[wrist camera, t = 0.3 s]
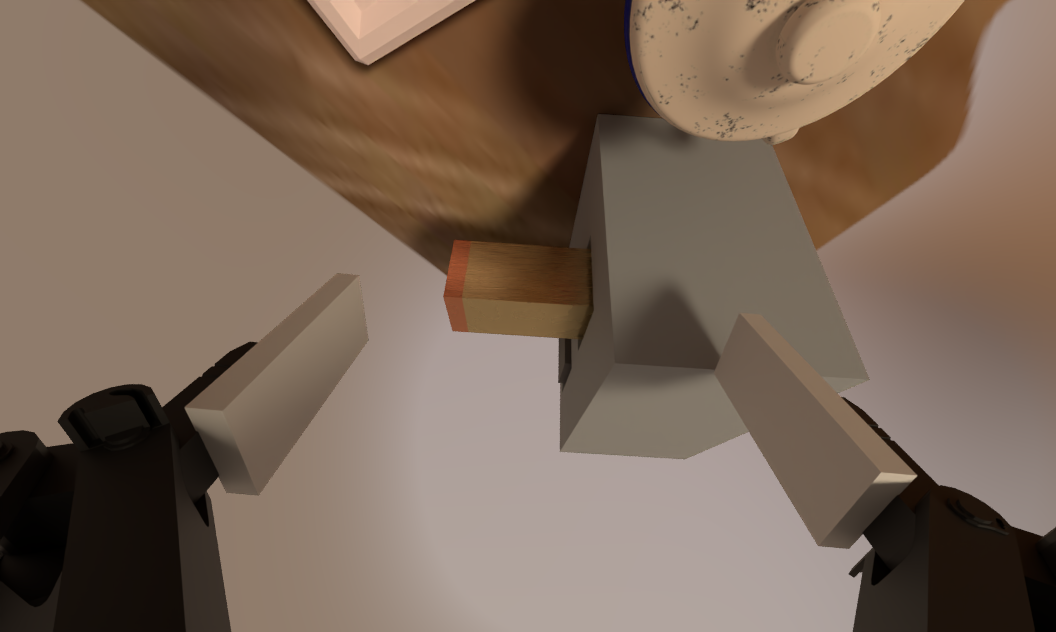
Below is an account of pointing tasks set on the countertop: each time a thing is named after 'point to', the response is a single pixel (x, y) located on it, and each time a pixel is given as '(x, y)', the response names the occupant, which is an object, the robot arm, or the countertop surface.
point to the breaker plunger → (519, 289)
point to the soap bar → (381, 22)
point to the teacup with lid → (768, 58)
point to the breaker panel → (686, 288)
